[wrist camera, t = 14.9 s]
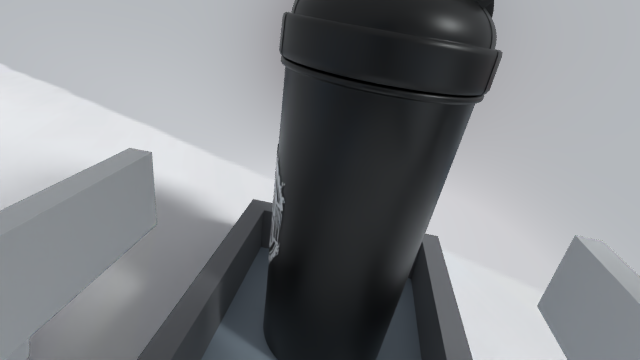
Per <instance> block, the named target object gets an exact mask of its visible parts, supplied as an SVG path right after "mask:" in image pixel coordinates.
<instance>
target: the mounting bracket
mask: <svg viewBox="0 0 640 360" xmlns="http://www.w3.org/2000/svg"><path fill="white" fill-rule="evenodd" d="M29 354H30V347H29V338H28V339H27V340H26V341H25V342H24V343H23V344H22V345H20V346H19V347H18V348H17V349H16V350H15V351H14V352H13V353H11V354H10V355H9V356H8V357H7V358H6V359H5V360H26V359H27V358H28V357H29Z"/></svg>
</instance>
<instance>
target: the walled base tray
mask: <svg viewBox="0 0 640 360" xmlns="http://www.w3.org/2000/svg"><path fill="white" fill-rule="evenodd" d="M272 207H273V203H269V202H264V201H259V200H254V199H253V200H252V202H251V203H250V204H249V206H248V207H247V209H246V210H245V211H244V213H243V214H242V215H241V217H240V218H239V220H238V221H237V222H236V224H235V225H234V226H233V228H232V229H231V231H230V232H229V233H228V235H227V236H226V237H225V239H224V240H223V242H222V243H221V244H220V246H219V247H218V248H217V250H216V251H215V253H214V254H213V255H212V257H211V258H210V260H209V261H208V262H207V264H206V265H205V266H204V268H203V269H202V271H201V272H200V273H199V275H198V276H197V277H196V279H195V280H194V282H193V283H192V284H191V286H190V287H189V288H188V290H187V291H186V293H185V294H184V295H183V297H182V298H181V299H180V301H179V302H178V304H177V305H176V306H175V308H174V309H173V310H172V312H171V313H170V315H169V316H168V317H167V319H166V320H165V322H164V323H163V324H162V326H161V327H160V328H159V330H158V331H157V333H156V334H155V335H154V337H153V338H152V339H151V341H150V342H149V344H148V345H147V346H146V348H145V349H144V350H143V352H142V353H141V355H140V356H139V357H138V359H137V360H277V358H276V357H275V356H274V355H273V353H272V352H271V350H270V349H269V347H268V345H267V342H266V340H265V336H264V330H263V322H264V310H265V299H266V287H267V276H268V264H269V259H268V255H269V250H270V249H269V243H270V232H271V229H272V228H271V225H272V223H271V219H272V216H273V212H272ZM376 360H473V359H472V355H471V352H470V348H469V345H468V341H467V338H466V334H465V331H464V327H463V324H462V320H461V316H460V313H459V309H458V306H457V302H456V299H455V295H454V292H453V288H452V285H451V281H450V278H449V274H448V271H447V267H446V263H445V260H444V256H443V253H442V249H441V246H440V242H439V239H438V236H434V235H429V234H425V235H424V237H423V240H422V242H421V245H420V248H419V250H418V253H417V255H416V258H415V261H414V263H413V266H412V268H411V271H410V273H409V276H408V279H407V281H406V284H405V286H404V289H403V292H402V294H401V297H400V299H399V302H398V304H397V307H396V310H395V312H394V315H393V317H392V320H391V323H390V325H389V328H388V330H387V333H386V335H385V338H384V341H383V343H382V346H381V348H380V351H379V354H378V356H377V358H376Z"/></svg>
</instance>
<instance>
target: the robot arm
mask: <svg viewBox="0 0 640 360" xmlns="http://www.w3.org/2000/svg"><path fill="white" fill-rule="evenodd" d="M156 225H157V219H156V204H155V190H154V175H153V161H152V152H148V151H143V150H138V149H132V148H129V149H127V150H125V151H123V152H120V153H118V154H116V155H114V156H112V157H110V158H108V159H106V160H104V161H102V162H100V163H98V164H96V165H94V166H92V167H90V168H87V169H85V170H83V171H81V172H79V173H77V174H75V175H73V176H71V177H69V178H67V179H65V180H63V181H61V182H59V183H56V184H54V185H52V186H50V187H48V188H46V189H44V190H42V191H40V192H38V193H36V194H34V195H32V196H30V197H28V198H26V199H23V200H21V201H19V202H17V203H15V204H13V205H11V206H9V207H7V208H5V209H3V210H1V211H0V360H5V359H6V358H7V357H8V356H9V355H10V354H11V353H13V352H14V351H15V350H16V349H17V348H18V347H19V346H20V345H22V344H23V343H24V342H25V341H26V340H27V339H28V338H29V337H31V336H32V335H33V334H34V333H35V332H36V331H37V330H38V329H40V328H41V327H42V326H43V325H44V324H45V323H46V322H47V321H49V320H50V319H51V318H52V317H53V316H54V315H55V314H57V313H58V312H59V311H60V310H61V309H62V308H63V307H64V306H66V305H67V304H68V303H69V302H70V301H71V300H72V299H73V298H75V297H76V296H77V295H78V294H79V293H80V292H81V291H82V290H84V289H85V288H86V287H87V286H88V285H89V284H90V283H91V282H93V281H94V280H95V279H96V278H97V277H98V276H99V275H100V274H102V273H103V272H104V271H105V270H106V269H107V268H108V267H109V266H111V265H112V264H113V263H114V262H115V261H116V260H117V259H119V258H120V257H121V256H122V255H123V254H124V253H125V252H126V251H128V250H129V249H130V248H131V247H132V246H133V245H134V244H135V243H137V242H138V241H139V240H140V239H141V238H142V237H143V236H144V235H146V234H147V233H148V232H149V231H150V230H151V229H152V228H153V227H155V226H156ZM537 307H538V308H539V310H540V312H541V314H542V315H543V317H544V319H545V321H546V322H547V324H548V326H549V328H550V330H551V331H552V333H553V335H554V337H555V338H556V340H557V342H558V344H559V345H560V347H561V349H562V351H563V353H564V354H565V356H566V358H567V360H640V276H639V275H638V274H637V273H636V272H635V271H634V270H633V269H632V268H631V267H630V266H629V265H627V263H625V262H624V261H623V260H622V259H621V258H620V257H619V256H618V255H617V254H616V253H615V252H614V251H613V250H612V249H611V248H610V247H609V246H608V245H607V244H606V243H605V242H603V241H602V240H597V239H592V238H586V237H582V236H576V235H575V236H574V238H573V240H572V242H571V244H570V246H569V248H568V249H567V251H566V253H565V255H564V257H563V259H562V261H561V263H560V264H559V266H558V268H557V270H556V272H555V274H554V276H553V277H552V279H551V281H550V283H549V285H548V287H547V289H546V290H545V292H544V294H543V296H542V298H541V300H540V302H539V303H538V305H537Z"/></svg>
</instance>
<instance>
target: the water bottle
mask: <svg viewBox="0 0 640 360" xmlns="http://www.w3.org/2000/svg"><path fill="white" fill-rule="evenodd" d="M493 9H494V0H295V3H294V5H293V8H292V13H289V12H285V13H284V15H283V19H282V29H281V39H280V48H279V50H280V54H281V55H282V56H281V62H282V64H284V65H285V78H284V89H283V101H282V113H281V124H280V136H279V144H278V150H277V158H278V159H277V160H276V172H275V183H274V187H275V189H274V195H273V197H274V199H273V207H272V212H273V216H272V219H271V223H272V225H271V228H272V229H271V232H270V243H269V249H270V250H269V255H268V259H269V264H268V276H267V287H266V299H265V310H264V322H263V330H264V336H265V340H266V342H267V345H268V347H269V349H270V350H271V352H272V353H273V355H274V356H275V357H276V358H277V360H376V358H377V356H378V354H379V351H380V348H381V346H382V343H383V341H384V338H385V335H386V333H387V330H388V328H389V325H390V323H391V320H392V317H393V315H394V312H395V310H396V307H397V304H398V302H399V299H400V297H401V294H402V292H403V289H404V286H405V284H406V281H407V279H408V276H409V273H410V271H411V268H412V266H413V263H414V261H415V258H416V255H417V253H418V250H419V248H420V245H421V242H422V240H423V237H424V235H425V232H426V229H427V227H428V224H429V221H430V219H431V216H432V214H433V211H434V209H435V206H436V204H437V201H438V198H439V196H440V193H441V191H442V188H443V186H444V183H445V180H446V178H447V175H448V173H449V170H450V167H451V164H452V162H453V160H454V157H455V155H456V152H457V149H458V147H459V144H460V142H461V139H462V136H463V134H464V131H465V129H466V126H467V123H468V121H469V118H470V116H471V113H472V111H473V108H474V105H475V103H479V102H481V101H482V100H483V98H484V94H486V93H487V92H488V91H489V90H490V88H491V85H492V82H493V79H494V76H495V74H496V71H497V68H498V66H499V63H500V60H501V58H502V52H501V51H500V50H495V46H496V38H497V37H496V29H495V25H494V22H493V20H492V15H493Z"/></svg>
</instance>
